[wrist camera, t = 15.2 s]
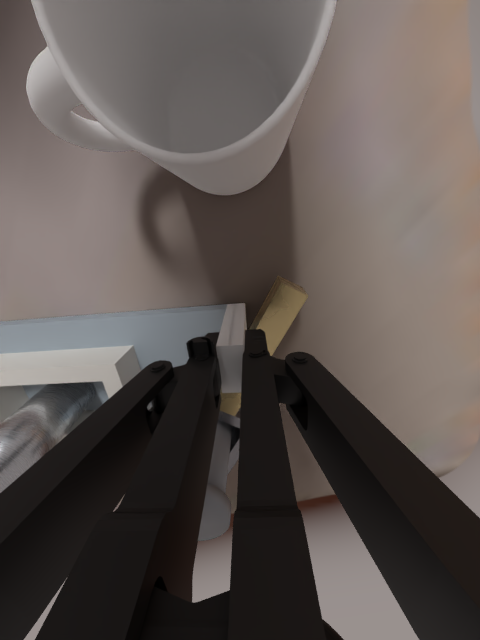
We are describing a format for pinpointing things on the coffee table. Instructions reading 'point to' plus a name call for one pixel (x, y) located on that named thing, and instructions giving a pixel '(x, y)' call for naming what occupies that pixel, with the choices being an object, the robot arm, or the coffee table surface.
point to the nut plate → (112, 370)
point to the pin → (40, 426)
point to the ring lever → (275, 324)
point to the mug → (180, 80)
